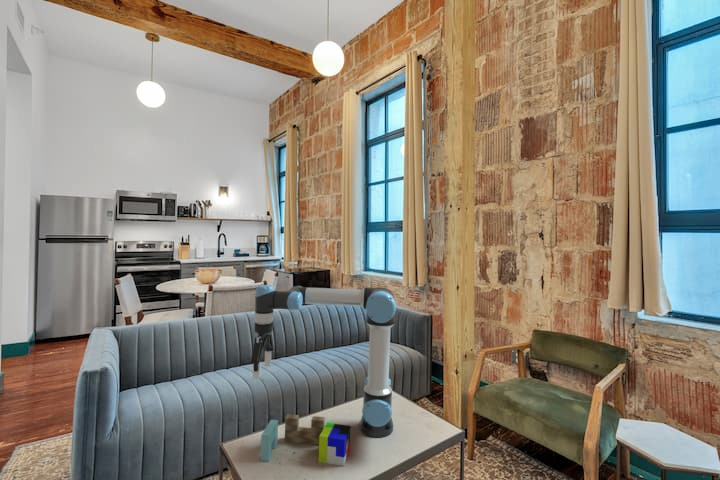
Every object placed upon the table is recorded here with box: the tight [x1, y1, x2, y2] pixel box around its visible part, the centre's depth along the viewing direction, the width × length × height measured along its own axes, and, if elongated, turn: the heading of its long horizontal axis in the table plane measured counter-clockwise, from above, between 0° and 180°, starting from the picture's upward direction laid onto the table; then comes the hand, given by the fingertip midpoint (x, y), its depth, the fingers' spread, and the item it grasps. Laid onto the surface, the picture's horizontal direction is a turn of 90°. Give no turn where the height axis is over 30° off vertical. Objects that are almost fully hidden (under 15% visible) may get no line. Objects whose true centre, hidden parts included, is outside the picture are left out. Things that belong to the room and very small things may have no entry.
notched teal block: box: [260, 419, 279, 462], centre depth 138 cm, size 11×3×10 cm, turn 176°
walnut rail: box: [284, 413, 326, 445], centre depth 146 cm, size 16×3×10 cm, turn 86°
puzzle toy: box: [318, 422, 352, 467], centre depth 137 cm, size 10×10×10 cm
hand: (262, 372), depth 148 cm, fingers open, 13 cm apart
